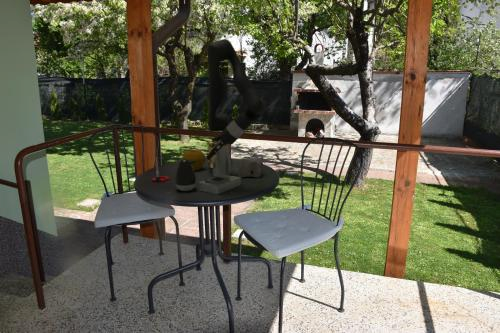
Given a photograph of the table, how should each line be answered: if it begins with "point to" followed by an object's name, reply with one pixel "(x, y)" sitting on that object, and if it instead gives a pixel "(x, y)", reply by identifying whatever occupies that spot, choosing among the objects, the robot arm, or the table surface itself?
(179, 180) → the dark grey ribbed bell
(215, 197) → the table surface
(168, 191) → the table surface
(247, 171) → the stone
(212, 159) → the gold cylinder
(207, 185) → the hitch plate
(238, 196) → the table surface
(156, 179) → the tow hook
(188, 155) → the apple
